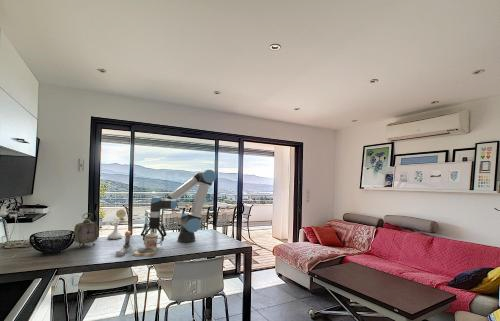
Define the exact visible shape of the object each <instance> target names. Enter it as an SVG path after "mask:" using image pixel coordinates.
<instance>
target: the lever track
mask: <svg viewBox="0 0 500 321" xmlns="http://www.w3.org/2000/svg"><path fill="white" fill-rule="evenodd" d="M132 250H133V245H131V246H130V247H123V246H122V247H121V248H119V249H118V250H116V251H115V257H125V256H126V255H127V254H128V253H130V252H131V251H132ZM125 254H126V255H125Z"/></svg>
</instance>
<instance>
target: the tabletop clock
mask: <svg viewBox="0 0 500 321" xmlns="http://www.w3.org/2000/svg"><path fill="white" fill-rule="evenodd" d="M86 215H91V216H89V217H88V216H86ZM85 216H86V217H85ZM92 217H93V213H91V212H86V213H83V214H82V218H83V219H84V220H83V221H82V222H78V223H77V224H75V226H74V230H73V234H74V233H75V238H74V237H73V240H74V242H76V243H78V244H79V245H78V246H77V249H81V246H82V247H85V245H86V244H89V243H92V245H93V246H95V245H96V243H94V242H96V241H97V240H98V238H99V234H100V226H99V223H97V222H93V221H91V218H92ZM81 244H82V245H81Z"/></svg>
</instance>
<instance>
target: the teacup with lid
mask: <svg viewBox="0 0 500 321" xmlns="http://www.w3.org/2000/svg"><path fill="white" fill-rule="evenodd" d="M145 236H146V241H145V245H144V248H157V247H158V245H160V242H161V237H159V235H158V234H156V233H154V232H153V231H151V232H150V233H149V234H146V235H145ZM158 240H160V241H159V242H158Z"/></svg>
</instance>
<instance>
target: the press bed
mask: <svg viewBox="0 0 500 321" xmlns="http://www.w3.org/2000/svg"><path fill="white" fill-rule="evenodd" d="M157 252H159V248H145V247H144V248H143V247H139V248H137V249H136V250H135V251H134V252H132V254H131V256H132V257H154V256H155V255H156V254H157Z"/></svg>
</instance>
